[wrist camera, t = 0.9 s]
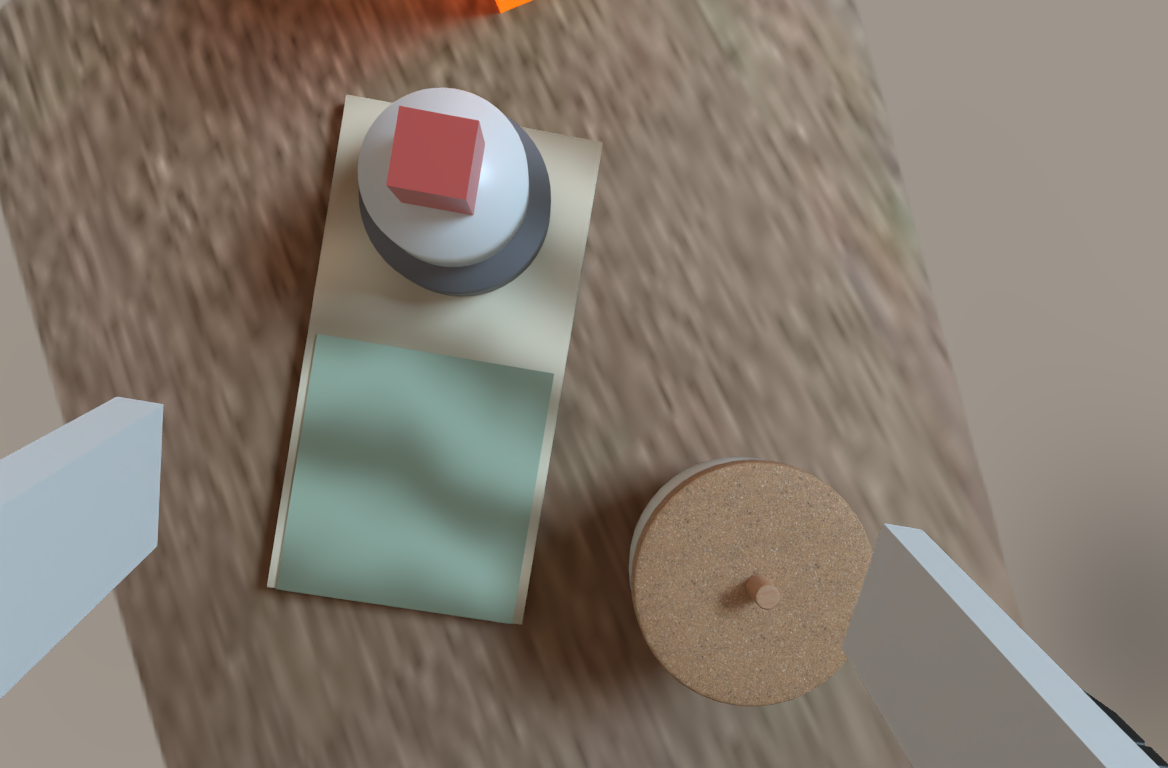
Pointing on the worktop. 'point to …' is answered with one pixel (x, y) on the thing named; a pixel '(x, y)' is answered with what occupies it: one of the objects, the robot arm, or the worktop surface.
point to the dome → (445, 176)
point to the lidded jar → (747, 579)
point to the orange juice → (509, 4)
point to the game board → (432, 398)
